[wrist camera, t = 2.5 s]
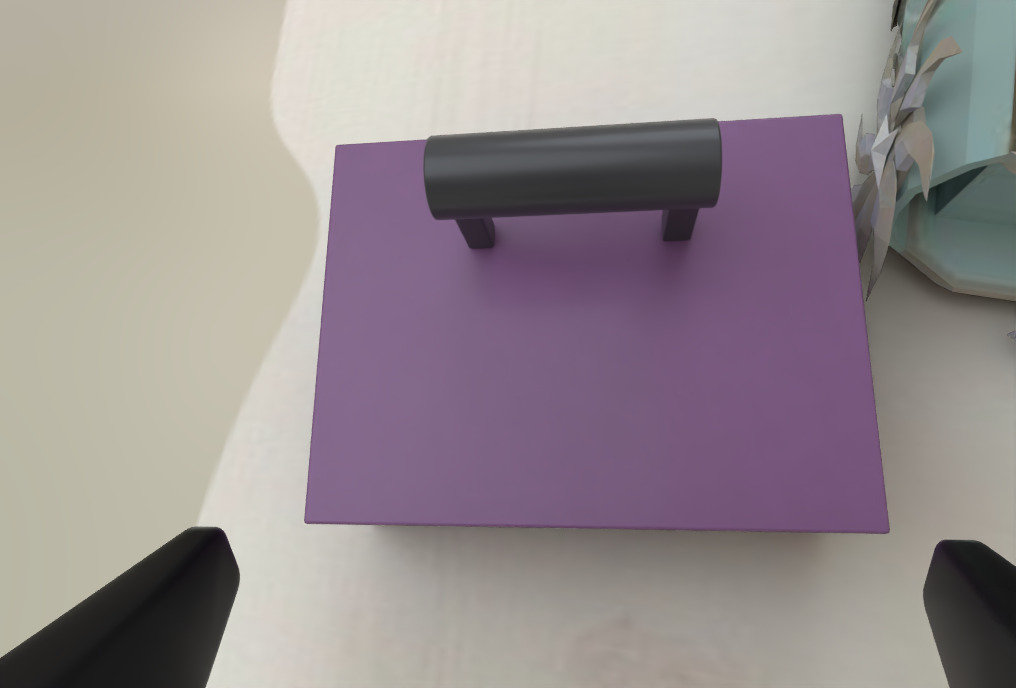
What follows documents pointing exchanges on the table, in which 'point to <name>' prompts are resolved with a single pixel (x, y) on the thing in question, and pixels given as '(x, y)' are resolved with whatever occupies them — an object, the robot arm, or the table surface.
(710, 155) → the lid
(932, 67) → the ornate book
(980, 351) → the table surface
